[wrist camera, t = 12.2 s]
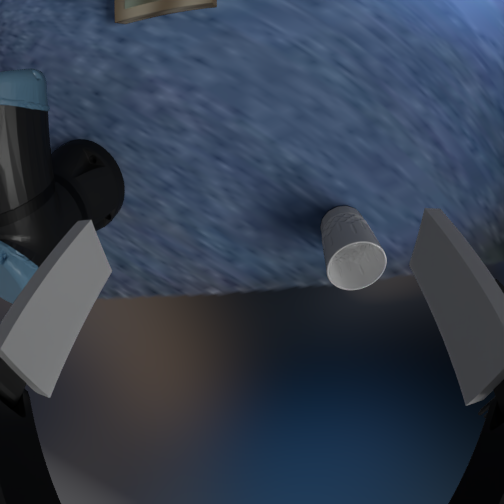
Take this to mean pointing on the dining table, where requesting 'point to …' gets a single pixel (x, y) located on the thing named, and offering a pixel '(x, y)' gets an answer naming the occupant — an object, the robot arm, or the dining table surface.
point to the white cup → (350, 249)
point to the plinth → (155, 8)
